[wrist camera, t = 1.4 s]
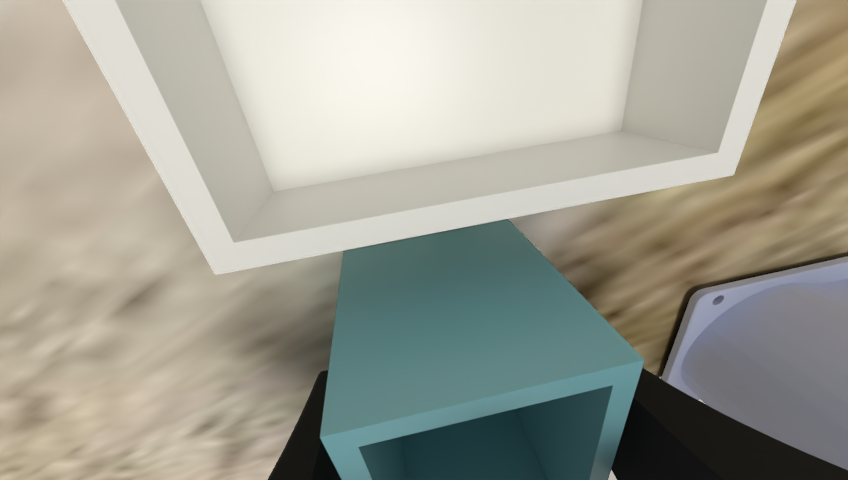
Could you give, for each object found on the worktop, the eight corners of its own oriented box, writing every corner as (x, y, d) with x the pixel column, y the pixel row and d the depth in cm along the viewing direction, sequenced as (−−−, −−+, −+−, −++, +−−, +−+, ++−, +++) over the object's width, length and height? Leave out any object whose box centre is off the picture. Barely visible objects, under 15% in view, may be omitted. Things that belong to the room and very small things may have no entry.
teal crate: (508, 219, 11) (644, 360, 5) (508, 374, 15) (587, 543, 9) (343, 251, 10) (319, 438, 5) (388, 402, 14) (402, 596, 9)
